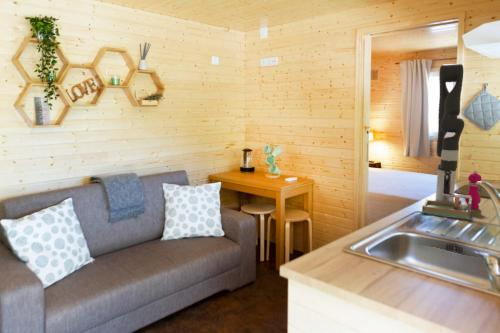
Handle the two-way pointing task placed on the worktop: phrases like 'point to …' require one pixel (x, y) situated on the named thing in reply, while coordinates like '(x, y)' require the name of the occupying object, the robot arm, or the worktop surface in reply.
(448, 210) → the tray
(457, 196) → the grey brown angular piece
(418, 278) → the worktop surface
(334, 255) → the worktop surface
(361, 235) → the worktop surface
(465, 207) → the ball
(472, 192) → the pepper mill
